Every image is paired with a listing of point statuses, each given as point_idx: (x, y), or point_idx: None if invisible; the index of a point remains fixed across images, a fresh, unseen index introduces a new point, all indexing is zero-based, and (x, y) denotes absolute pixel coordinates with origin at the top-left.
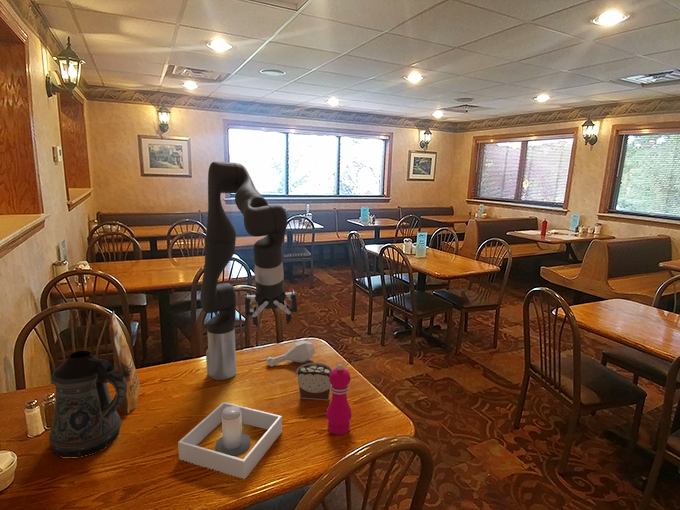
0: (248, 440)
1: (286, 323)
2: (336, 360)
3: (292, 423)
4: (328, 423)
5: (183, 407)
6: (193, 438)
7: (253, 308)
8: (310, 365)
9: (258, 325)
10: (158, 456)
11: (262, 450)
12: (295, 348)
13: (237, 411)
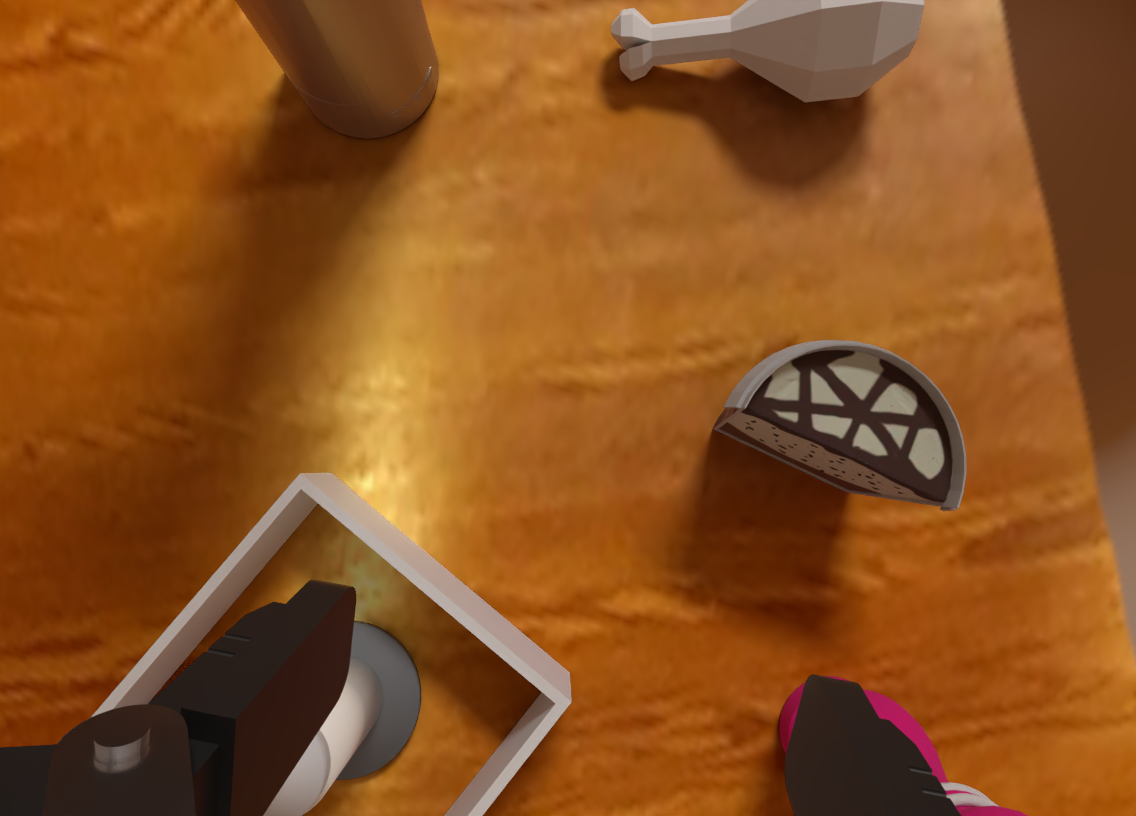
0: (410, 705)
1: (788, 795)
2: (1000, 115)
3: (629, 624)
4: (791, 732)
5: (155, 332)
6: (154, 676)
7: (45, 799)
8: (842, 352)
9: (335, 697)
10: (38, 672)
11: None
12: (802, 21)
13: (304, 786)
